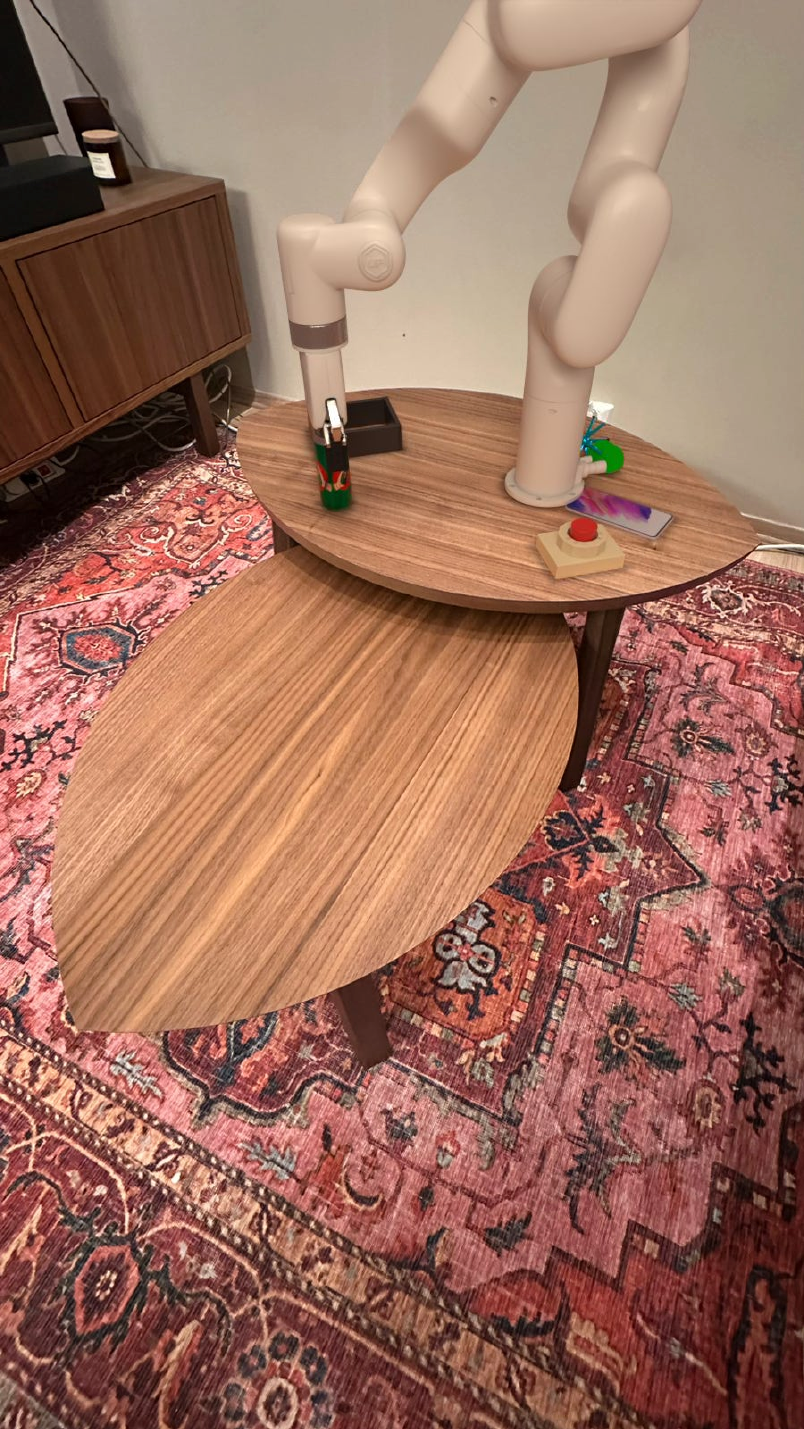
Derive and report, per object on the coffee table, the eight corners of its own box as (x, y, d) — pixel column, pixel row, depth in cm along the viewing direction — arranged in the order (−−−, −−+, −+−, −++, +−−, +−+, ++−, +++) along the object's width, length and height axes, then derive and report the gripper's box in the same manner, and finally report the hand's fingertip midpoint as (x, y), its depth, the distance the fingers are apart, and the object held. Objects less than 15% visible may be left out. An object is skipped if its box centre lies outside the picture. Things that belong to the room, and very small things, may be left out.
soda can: (355, 496, 110) (348, 423, 101) (350, 513, 107) (343, 439, 98) (324, 495, 110) (314, 422, 101) (318, 512, 107) (308, 439, 98)
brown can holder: (388, 420, 127) (384, 340, 117) (402, 450, 120) (399, 366, 109) (309, 431, 125) (298, 350, 115) (318, 461, 118) (308, 378, 107)
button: (589, 526, 96) (591, 515, 95) (599, 541, 94) (602, 530, 93) (565, 530, 96) (566, 519, 95) (575, 545, 94) (577, 534, 92)
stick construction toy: (548, 446, 114) (578, 403, 111) (558, 453, 121) (587, 412, 117) (604, 488, 112) (636, 445, 108) (611, 493, 118) (642, 452, 114)
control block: (599, 536, 101) (604, 512, 98) (622, 568, 96) (629, 543, 93) (534, 546, 100) (538, 522, 97) (555, 579, 94) (559, 555, 91)
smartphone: (655, 538, 99) (563, 506, 106) (654, 543, 100) (562, 511, 106) (676, 515, 103) (585, 485, 109) (674, 520, 104) (585, 490, 110)
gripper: (283, 311, 95) (300, 431, 108) (298, 360, 83) (316, 487, 96) (336, 305, 96) (347, 425, 108) (359, 352, 84) (368, 480, 97)
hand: (333, 454), depth 102 cm, fingers open, 9 cm apart
